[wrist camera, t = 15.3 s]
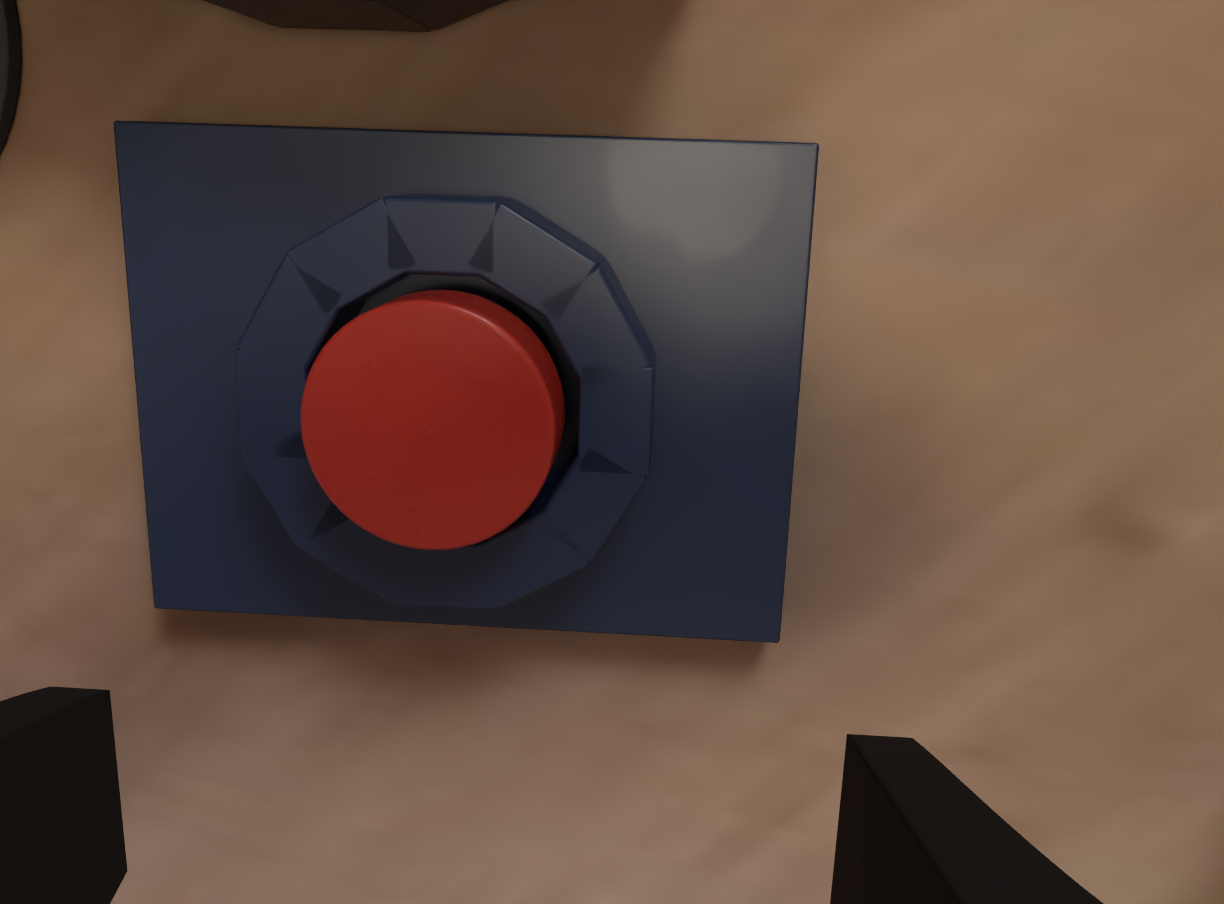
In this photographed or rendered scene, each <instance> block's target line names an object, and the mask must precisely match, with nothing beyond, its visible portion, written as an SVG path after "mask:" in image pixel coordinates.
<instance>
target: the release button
mask: <svg viewBox="0 0 1224 904" xmlns="http://www.w3.org/2000/svg"><path fill="white" fill-rule="evenodd" d="M564 419H565V406H564V396H563V390H562V384H561V381H560V378H559V375H558V372H557V369H556V367H555V364H554V362H553V360H552V358H551V356H550V354H549V352H548V351H547V349H546V348H545V346H544V345H543V343H542V341H541V340H540V339H539V338H538V337H537V335H536V334H535V333H534V332H533V331H532V329H531V328H530V327H529V326H527V325H526V324H525V323H524V322H523V321H522V320H521V319H520V318H519V317H517V316H516V315H515V314H513V313H512V312H510V311H509V310H508V309H506V308H504V307H503V306H501V305H499V304H497V303H495V302H493V301H491V300H489V299H486V298H484V297H481V296H478V295H475V294H471V293H467V292H463V291H456V290H447V289H438V290H424V291H418V292H413V293H410V294H406V295H403V296H400V297H397V298H395V299H393V300H391V301H388V302H386V303H384V304H382V305H379V306H377V307H375V308H373V309H371V310H369V311H366V312H364V313H362V314H360V315H359V316H357V317H356V318H354V319H352V320H351V321H349V322H348V323H346V324H345V325H344V326H343V327H342V328H341V329H340V330H338V331H337V332H336V333H335V334H334V335H333V336H332V337H331V338H330V340H329V341H328V342H327V343H326V344H325V345H324V347H323V348H322V350H321V351H320V353H319V354H318V356H317V358H316V359H315V361H314V363H313V365H312V367H311V370H310V372H309V374H308V377H307V380H306V383H305V387H304V390H303V396H302V402H301V431H302V440H303V444H304V448H305V452H306V456H307V458H308V461H309V464H310V466H311V469H312V471H313V473H314V475H315V477H316V479H317V481H318V483H319V484H320V486H321V487H322V489H323V490H324V492H325V493H326V495H327V496H328V497H329V499H330V500H331V501H332V502H333V503H334V504H335V505H336V507H337V508H338V509H339V510H340V511H341V512H342V513H343V514H344V515H346V516H347V517H348V518H349V519H350V520H351V521H353V522H354V523H355V524H357V525H358V526H360V527H361V528H363V529H364V530H366V531H367V532H369V533H371V534H373V535H375V536H377V537H379V538H381V539H384V540H386V541H389V542H392V543H394V544H397V545H401V546H406V547H410V548H415V549H424V550H448V549H455V548H462V547H465V546H469V545H473V544H476V543H479V542H481V541H484V540H486V539H488V538H491V537H493V536H494V535H496V534H498V533H499V532H501V531H503V530H505V529H506V528H507V527H508V526H510V525H511V524H512V523H514V522H515V521H516V520H517V519H518V518H519V517H520V516H521V515H522V514H523V513H524V512H525V511H526V510H527V509H528V508H529V507H530V505H531V504H532V502H533V501H534V500H535V498H536V497H537V496H538V494H539V492H540V490H541V488H542V486H543V485H544V483H545V481H546V478H547V476H548V474H549V471H550V469H551V467H552V464H553V462H554V460H555V457H556V455H557V452H558V449H559V447H560V443H561V439H562V435H563V430H564Z"/></svg>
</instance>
